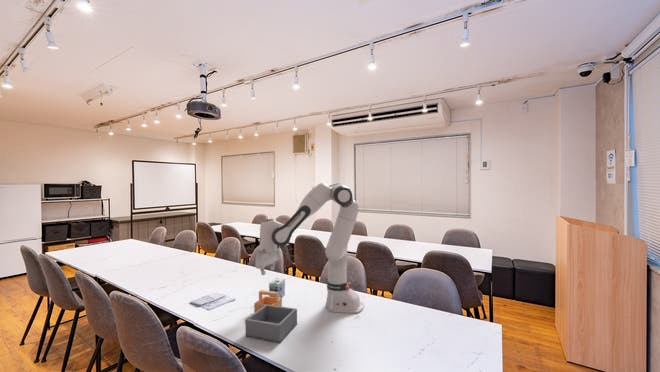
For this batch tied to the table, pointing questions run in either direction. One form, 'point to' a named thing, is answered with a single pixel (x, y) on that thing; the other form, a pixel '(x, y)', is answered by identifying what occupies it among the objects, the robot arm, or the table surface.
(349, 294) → the robot arm
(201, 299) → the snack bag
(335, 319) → the table surface
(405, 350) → the table surface
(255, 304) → the small crate
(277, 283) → the light bulb box
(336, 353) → the table surface
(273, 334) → the box
